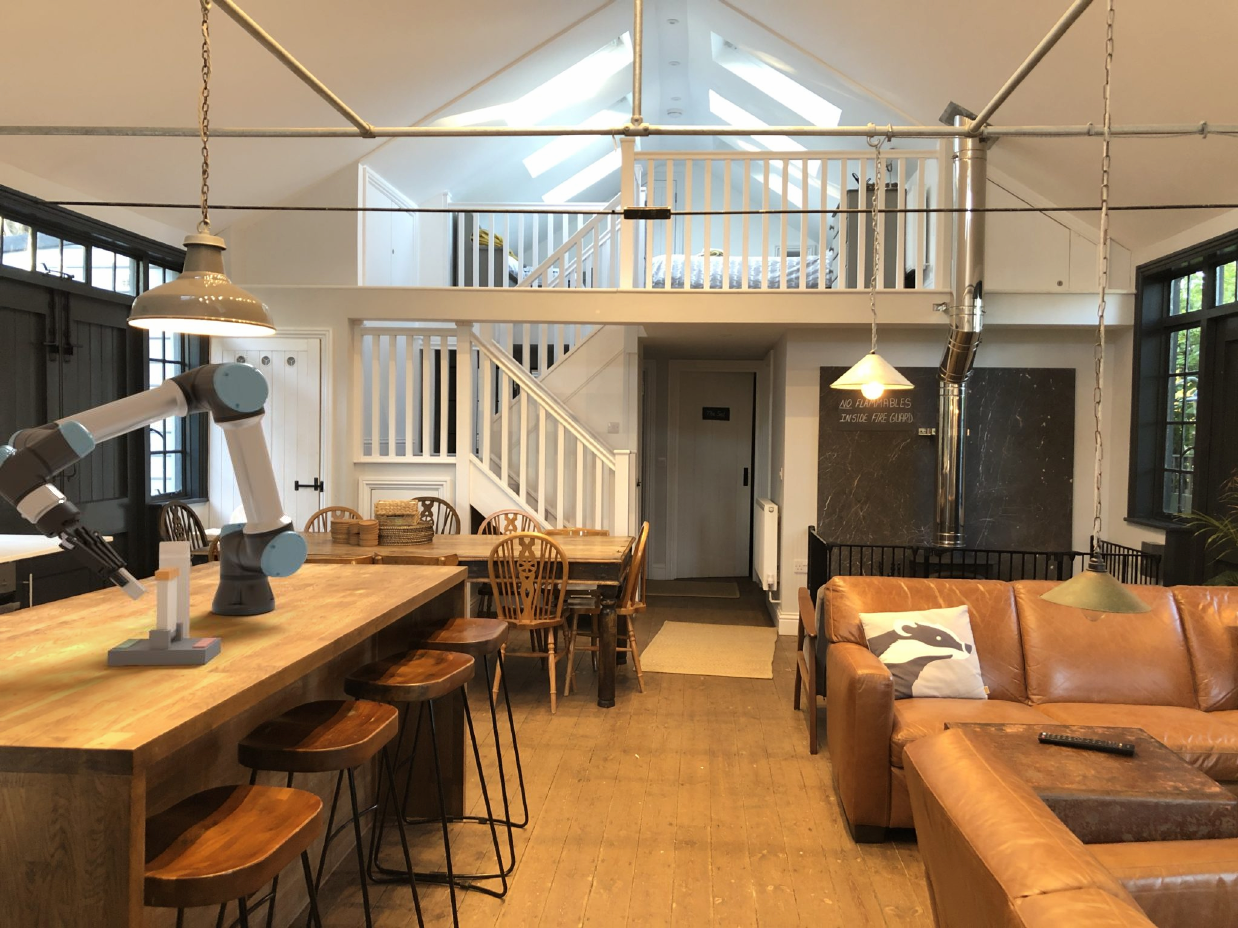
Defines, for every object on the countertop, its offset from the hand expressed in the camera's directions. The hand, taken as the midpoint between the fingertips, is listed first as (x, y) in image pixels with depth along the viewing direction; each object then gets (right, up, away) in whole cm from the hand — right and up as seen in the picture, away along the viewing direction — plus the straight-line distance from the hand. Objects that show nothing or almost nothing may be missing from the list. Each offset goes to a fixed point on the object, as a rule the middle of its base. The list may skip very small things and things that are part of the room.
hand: (140, 595), depth 169 cm
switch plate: (+5, -13, +1) cm, 14 cm away
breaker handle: (+5, -9, +1) cm, 11 cm away
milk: (-2, -13, +16) cm, 21 cm away
